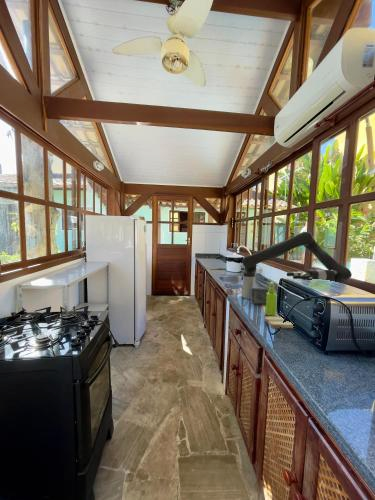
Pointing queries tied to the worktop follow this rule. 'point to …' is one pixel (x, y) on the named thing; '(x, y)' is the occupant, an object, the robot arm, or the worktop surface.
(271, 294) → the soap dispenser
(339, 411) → the worktop surface
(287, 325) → the birch board
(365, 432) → the worktop surface
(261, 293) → the small box
